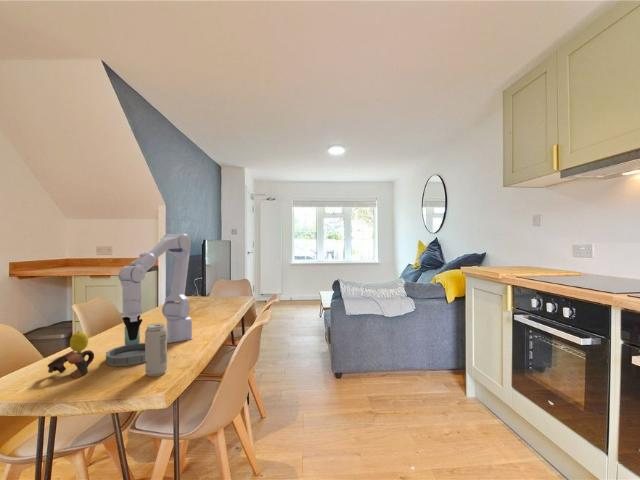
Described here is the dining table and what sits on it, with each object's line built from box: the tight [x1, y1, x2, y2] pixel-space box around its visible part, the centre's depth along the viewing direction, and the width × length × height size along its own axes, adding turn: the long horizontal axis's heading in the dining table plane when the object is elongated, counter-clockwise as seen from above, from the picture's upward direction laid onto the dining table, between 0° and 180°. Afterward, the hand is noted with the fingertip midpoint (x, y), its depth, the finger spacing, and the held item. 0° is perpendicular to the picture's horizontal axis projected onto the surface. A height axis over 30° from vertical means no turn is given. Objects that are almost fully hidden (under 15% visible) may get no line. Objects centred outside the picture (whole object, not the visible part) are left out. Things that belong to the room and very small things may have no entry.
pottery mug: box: [47, 350, 95, 380], centre depth 103 cm, size 12×9×8 cm
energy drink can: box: [144, 322, 168, 378], centre depth 102 cm, size 6×6×15 cm
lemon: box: [69, 330, 89, 354], centre depth 122 cm, size 6×6×8 cm
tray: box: [105, 342, 145, 368], centre depth 116 cm, size 16×16×3 cm
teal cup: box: [124, 325, 141, 345], centre depth 116 cm, size 5×5×6 cm
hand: (132, 338), depth 116 cm, fingers closed on teal cup, 5 cm apart
